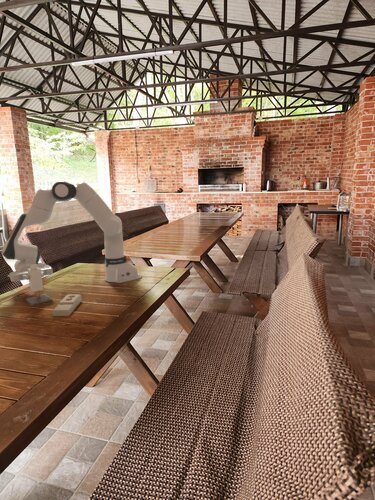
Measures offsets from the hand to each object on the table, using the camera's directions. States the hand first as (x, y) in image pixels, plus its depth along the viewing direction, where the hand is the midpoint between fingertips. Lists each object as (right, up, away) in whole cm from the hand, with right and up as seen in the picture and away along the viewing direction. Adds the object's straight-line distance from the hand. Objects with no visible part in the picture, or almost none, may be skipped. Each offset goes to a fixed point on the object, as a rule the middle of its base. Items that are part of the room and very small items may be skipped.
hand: (35, 276), depth 159 cm
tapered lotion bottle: (0, -7, +2) cm, 7 cm away
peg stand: (0, -12, +4) cm, 13 cm away
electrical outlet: (+19, -15, -7) cm, 25 cm away
